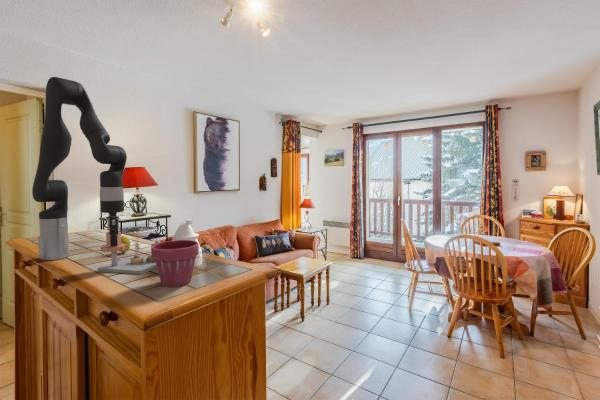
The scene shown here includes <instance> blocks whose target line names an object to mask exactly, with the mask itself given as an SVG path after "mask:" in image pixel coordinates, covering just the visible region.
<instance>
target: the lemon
mask: <svg viewBox="0 0 600 400" xmlns="http://www.w3.org/2000/svg"><path fill="white" fill-rule="evenodd" d="M121 244H127V249H125V250H121V251H119V252H120V253H122V254H125V253H126V252H128V251H129V250H130V248H131V241H130V238H128V237H127V236H125V235H121Z"/></svg>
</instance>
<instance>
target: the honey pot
mask: <svg viewBox="0 0 600 400" xmlns="http://www.w3.org/2000/svg"><path fill="white" fill-rule="evenodd" d="M192 224H193V219H189V218H188V219H185V222H183V223H181V224H180V225H179V226H178V227H177V229H176V231H175V233H174V234H173V235H171V238H172V240H171V241H174V240H192V241H196V242H198V245H199V254H198V255H197V256H196V259H195V264H194V268H196V267H195V266H197V267H199V266H201V265H203V250H202V248H201V245H200V242H199V240H198V237H199V233H197V232H195V231H194V229H193V228H192V226H191V225H192ZM198 265H199V266H198Z"/></svg>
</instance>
